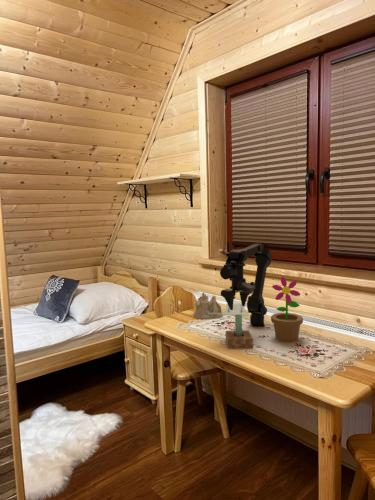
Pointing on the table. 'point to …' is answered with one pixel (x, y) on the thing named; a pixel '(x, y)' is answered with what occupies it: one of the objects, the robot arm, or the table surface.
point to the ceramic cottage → (207, 308)
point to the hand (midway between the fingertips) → (237, 308)
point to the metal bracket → (235, 310)
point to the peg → (238, 325)
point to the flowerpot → (286, 315)
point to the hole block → (239, 340)
